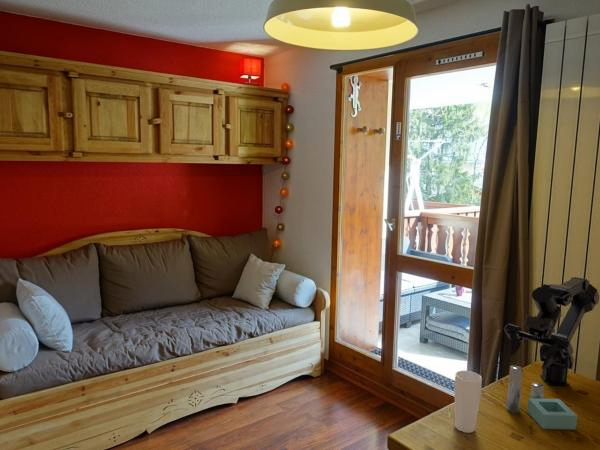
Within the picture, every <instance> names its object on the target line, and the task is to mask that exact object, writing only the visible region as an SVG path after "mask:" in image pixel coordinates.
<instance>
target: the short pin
mask: <svg viewBox="0 0 600 450" xmlns="http://www.w3.org/2000/svg"><path fill="white" fill-rule="evenodd" d="M530 386H531V387H530V388H531V389H530V396H529V397H530V398H535V399H544V393H545V391H544V390H545V385H544V384H543V383H540V382H531V385H530Z"/></svg>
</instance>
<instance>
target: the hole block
mask: <svg viewBox="0 0 600 450" xmlns="http://www.w3.org/2000/svg"><path fill="white" fill-rule="evenodd" d="M526 409H527V410H526V412H527V413H528V414H529V415H530V417H532V418H533V420H534V421H535V422H537V424H538V425H539V426H540V428H542V429H543V430H577V422H578V415H577V414H576V413H575V412H574V411H573V410H572V409H571V408H570V407H569V406H568V405H566V403H564V402H563V401H562V400H561V398H543V399H535V398H527V408H526Z"/></svg>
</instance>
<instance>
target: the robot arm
mask: <svg viewBox="0 0 600 450" xmlns="http://www.w3.org/2000/svg"><path fill="white" fill-rule="evenodd" d="M531 298H532V300H533V302H534V305H535V307H536V308H537V310H538V313H537V314H536V315H534V316H532V315H527V314H526V316H525V320H524V323H523V326H524V327H526V330H527V332H526V331H523V330H522V328H521V326H520V325H516V324H514V323H507V324H506V325H505V326H504V328H503V331H504V333H505V335H506V336H507V339H509V340H510V359H511V360H513V359H514V358H515V357H516V355H517V353H518V351H519V348H520V347H521V344H522V343H521V341H522V340H523V339H525V340H528V341H531V342H535V343H538V344H541V345H540V347H539V359H540V362H543V363H542V366H541V369H542V373H541V375H540V378H541V379H542V380H544V382H546V383H547V384H548V385H549V386H562V387H563V386H567V387H569V386H570V383H569V382H568V371H569V370H573V368H574V362H575V361H574V360H575V358H574V356H573V353H574V348H573V346H572V343H571V342H572V340H573V337H574V335H575V333H576V332H577V329H578V328H579V325H580V323H581V321H582V320H583V318H584V316H585V314H587V313H589V312H591V311H593V310H594V309H595V307H596V305H598V304H599V302H600V294H599V291H598V289H597V288H596V287H595V286H593V285H592V284H591V283H590V280H589V279H586V278H582V277H578V276H573V277H570V279H569V280H567V281H564V282H563V283H561V284H554V283H553V284H545V283H543V284H542V286H539V287H536V288H535V289H534V290H532V292H531ZM569 305H570V306H569ZM560 306H562V307H567V306H569V309H567V312H566V314H565V316H564V317H563V320H562V321H561V323H560V325H559V327H558V329H557V331H556V326H557V323H558V320H559V318H561V317H562V309H561V307H560Z"/></svg>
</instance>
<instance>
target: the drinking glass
mask: <svg viewBox="0 0 600 450" xmlns="http://www.w3.org/2000/svg"><path fill="white" fill-rule="evenodd" d="M482 381H483V377H482V376H481V375H480V374H478V373H477V372H474V371H471V370H458V371H456V373H455V377H454V388H453V389H454V393H453V394H454V395H453V396H454V427H455V428H456V430H458V431H460V432H461V431H462V433H468V434H471V433H474V431H476V427H477V417H478V413H479V406H480V401H481V396H482V395H481V394H482V385H483V384H482V383H483V382H482Z"/></svg>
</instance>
